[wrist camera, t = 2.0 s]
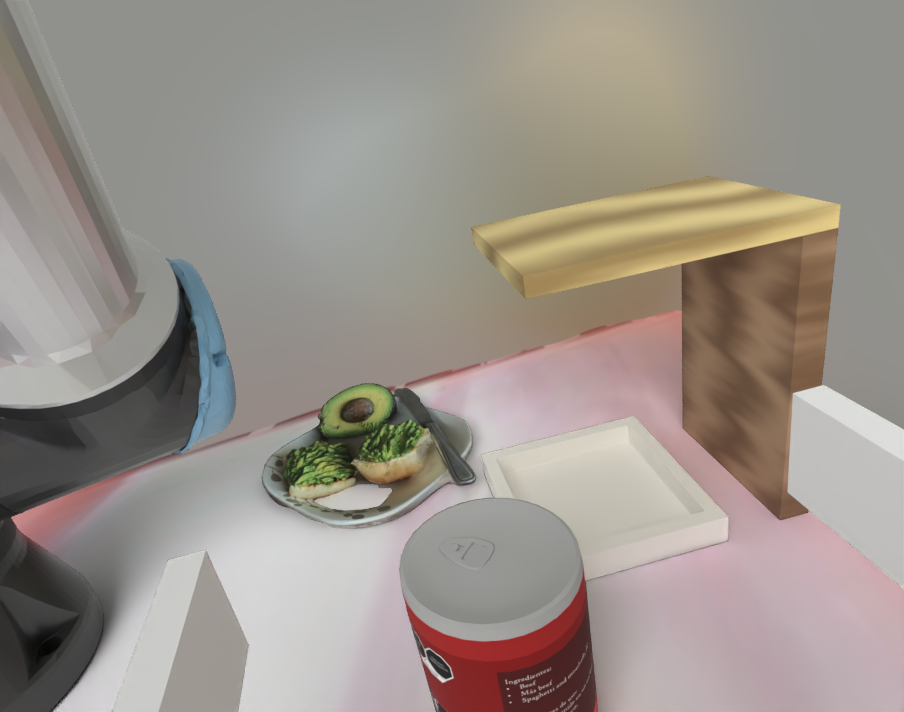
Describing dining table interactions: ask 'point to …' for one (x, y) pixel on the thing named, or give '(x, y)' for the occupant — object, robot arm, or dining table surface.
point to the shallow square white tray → (611, 494)
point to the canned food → (500, 609)
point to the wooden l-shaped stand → (706, 300)
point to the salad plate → (370, 456)
